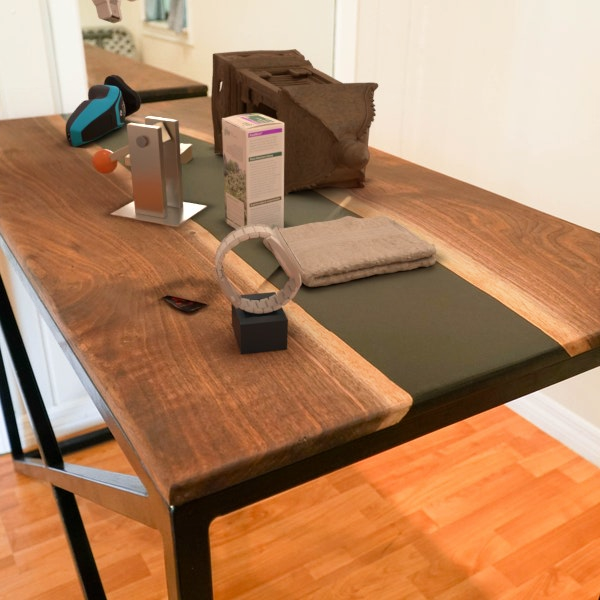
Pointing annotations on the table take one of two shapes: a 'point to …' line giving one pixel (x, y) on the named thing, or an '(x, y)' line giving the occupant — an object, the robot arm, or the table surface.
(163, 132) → the switch lever
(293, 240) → the washcloth
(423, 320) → the table surface
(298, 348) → the table surface
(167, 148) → the switch bracket
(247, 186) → the syrup box
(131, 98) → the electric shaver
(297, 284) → the watch
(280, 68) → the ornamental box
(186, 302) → the dark red faceted gem
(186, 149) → the control box
